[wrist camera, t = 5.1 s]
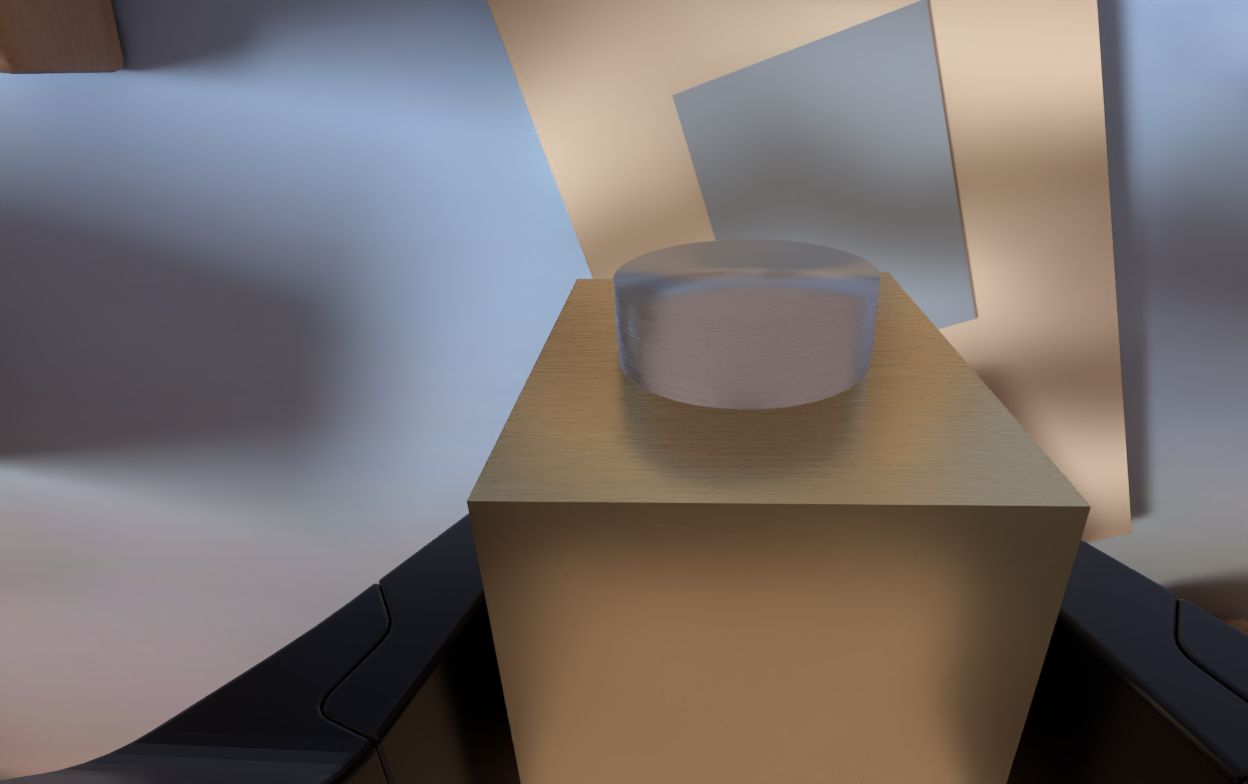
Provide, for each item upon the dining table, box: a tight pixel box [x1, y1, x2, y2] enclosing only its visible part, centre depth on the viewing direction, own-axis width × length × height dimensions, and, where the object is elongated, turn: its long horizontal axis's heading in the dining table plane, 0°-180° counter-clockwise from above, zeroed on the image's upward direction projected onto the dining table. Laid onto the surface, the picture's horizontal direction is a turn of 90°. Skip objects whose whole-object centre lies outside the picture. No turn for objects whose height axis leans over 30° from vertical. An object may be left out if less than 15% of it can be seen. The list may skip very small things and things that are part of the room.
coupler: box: [467, 239, 1091, 784], centre depth 8 cm, size 7×4×5 cm, turn 3°
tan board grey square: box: [487, 0, 1132, 542], centre depth 17 cm, size 25×13×3 cm, turn 20°
